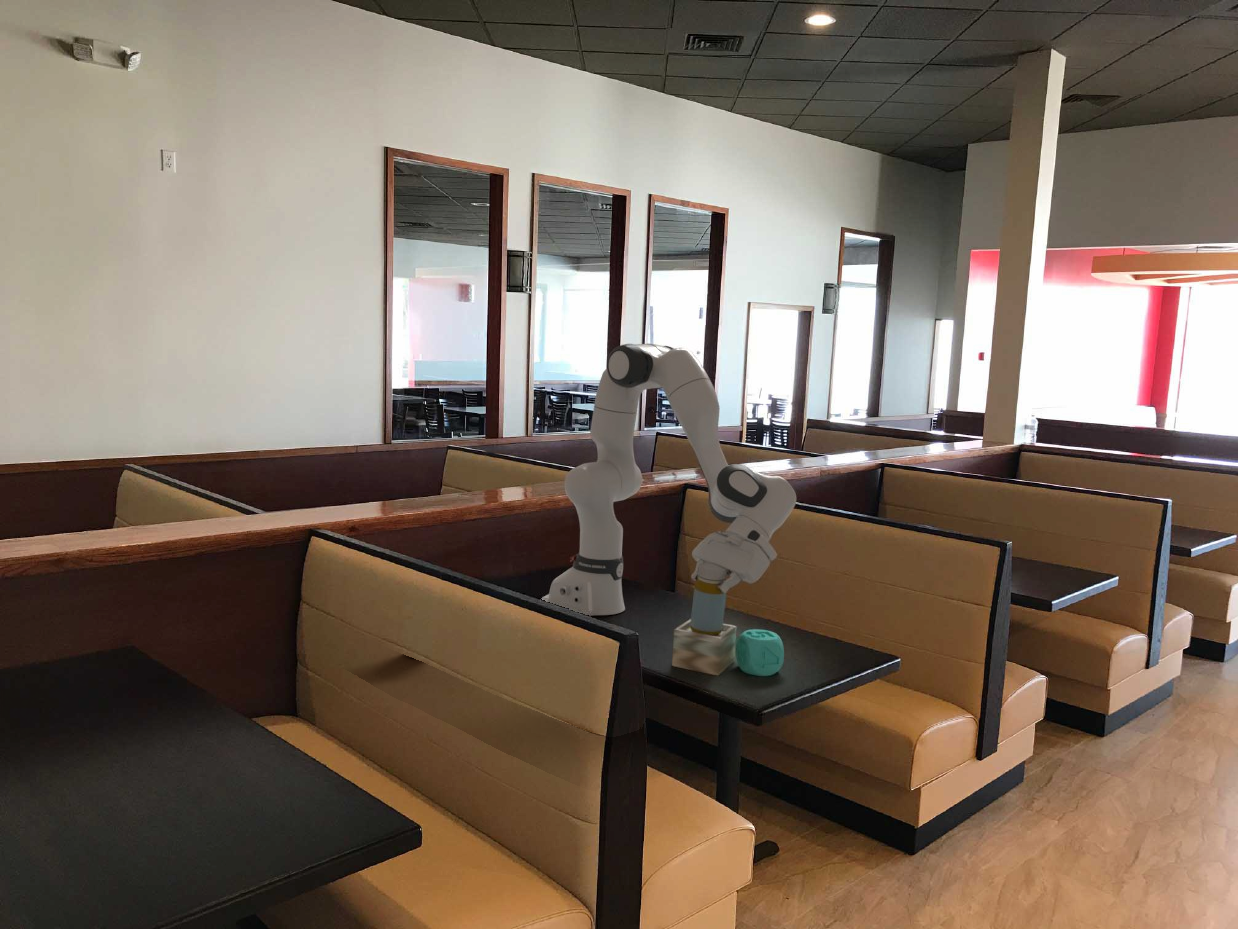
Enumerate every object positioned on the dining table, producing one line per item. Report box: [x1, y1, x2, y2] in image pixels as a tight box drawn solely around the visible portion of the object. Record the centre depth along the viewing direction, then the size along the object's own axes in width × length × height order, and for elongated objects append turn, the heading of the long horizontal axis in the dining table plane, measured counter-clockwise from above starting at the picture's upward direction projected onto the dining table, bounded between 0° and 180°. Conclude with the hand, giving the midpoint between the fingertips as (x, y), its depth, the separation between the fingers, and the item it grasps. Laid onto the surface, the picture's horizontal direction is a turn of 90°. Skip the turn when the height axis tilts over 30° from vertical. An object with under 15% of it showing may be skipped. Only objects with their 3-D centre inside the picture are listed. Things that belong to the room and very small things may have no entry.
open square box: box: [671, 618, 738, 676], centre depth 204 cm, size 11×11×8 cm
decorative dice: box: [735, 628, 785, 677], centre depth 202 cm, size 8×8×8 cm
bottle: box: [690, 562, 728, 636], centre depth 203 cm, size 7×7×15 cm
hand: (707, 585), depth 202 cm, fingers open, 8 cm apart
